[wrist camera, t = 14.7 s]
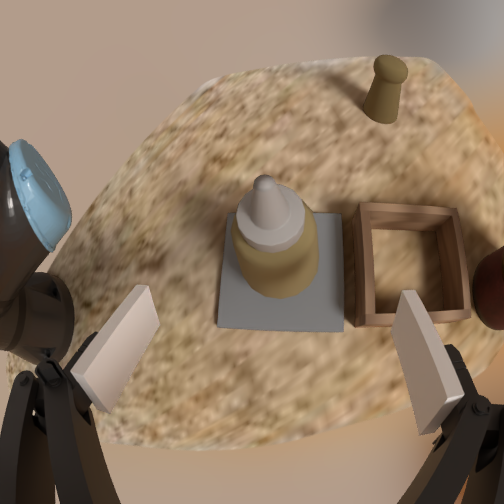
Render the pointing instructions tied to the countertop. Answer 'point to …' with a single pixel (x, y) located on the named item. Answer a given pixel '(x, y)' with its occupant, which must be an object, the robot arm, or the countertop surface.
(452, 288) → the bottle holder
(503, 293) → the vase
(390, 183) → the countertop surface
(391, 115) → the cork
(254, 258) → the squeeze bottle
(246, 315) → the slate mat
